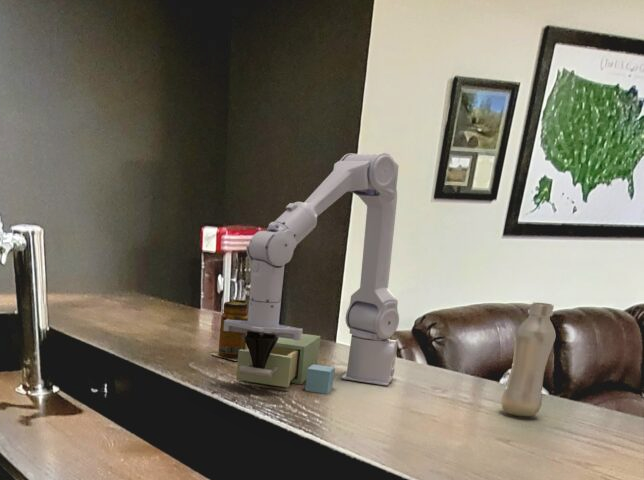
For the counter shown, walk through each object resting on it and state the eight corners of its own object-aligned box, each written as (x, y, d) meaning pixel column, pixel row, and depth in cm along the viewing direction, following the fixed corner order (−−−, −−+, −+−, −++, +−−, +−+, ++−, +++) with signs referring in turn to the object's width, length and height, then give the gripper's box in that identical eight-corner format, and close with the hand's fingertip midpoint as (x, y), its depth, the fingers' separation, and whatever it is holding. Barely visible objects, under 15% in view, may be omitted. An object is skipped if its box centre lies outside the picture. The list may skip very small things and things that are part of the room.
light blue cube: (332, 389, 141) (335, 367, 140) (327, 394, 137) (330, 371, 136) (310, 385, 143) (312, 364, 141) (304, 390, 139) (307, 368, 137)
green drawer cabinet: (300, 384, 143) (304, 346, 141) (245, 376, 147) (248, 339, 145) (316, 371, 155) (320, 336, 153) (265, 363, 159) (268, 329, 157)
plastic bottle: (542, 422, 127) (568, 308, 121) (502, 417, 128) (525, 304, 122) (533, 412, 133) (558, 303, 127) (495, 408, 134) (517, 300, 128)
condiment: (232, 351, 169) (236, 300, 165) (258, 359, 163) (262, 305, 159) (209, 354, 165) (212, 301, 161) (234, 362, 159) (238, 307, 155)
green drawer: (280, 393, 132) (283, 362, 130) (226, 385, 135) (229, 355, 133) (304, 374, 147) (307, 346, 145) (256, 367, 151) (258, 340, 149)
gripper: (219, 298, 130) (214, 372, 134) (298, 307, 125) (290, 383, 129) (233, 294, 136) (227, 365, 140) (308, 302, 131) (300, 375, 135)
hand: (258, 373), depth 135 cm, fingers closed, pressing on green drawer
